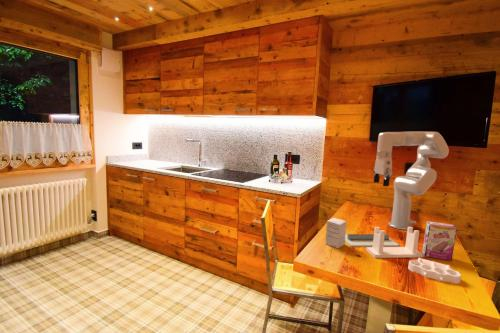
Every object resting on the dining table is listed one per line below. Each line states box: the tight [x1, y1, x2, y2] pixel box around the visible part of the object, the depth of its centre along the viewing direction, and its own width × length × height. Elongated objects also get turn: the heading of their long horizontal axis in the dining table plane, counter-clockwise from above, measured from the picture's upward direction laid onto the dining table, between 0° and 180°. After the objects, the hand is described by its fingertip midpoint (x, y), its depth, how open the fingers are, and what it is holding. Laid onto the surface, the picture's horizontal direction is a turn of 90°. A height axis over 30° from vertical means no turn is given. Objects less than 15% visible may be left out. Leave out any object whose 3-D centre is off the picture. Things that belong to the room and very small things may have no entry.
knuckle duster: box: [407, 257, 462, 285], centre depth 114 cm, size 3×18×15 cm
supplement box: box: [325, 217, 347, 249], centre depth 138 cm, size 7×7×13 cm
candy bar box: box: [421, 220, 458, 262], centre depth 127 cm, size 11×5×16 cm, turn 71°
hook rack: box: [365, 226, 424, 259], centre depth 130 cm, size 24×8×12 cm, turn 95°
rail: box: [347, 233, 390, 240], centre depth 145 cm, size 22×2×2 cm, turn 95°
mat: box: [345, 233, 400, 248], centre depth 145 cm, size 26×14×1 cm, turn 95°
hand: (380, 184), depth 155 cm, fingers open, 9 cm apart
